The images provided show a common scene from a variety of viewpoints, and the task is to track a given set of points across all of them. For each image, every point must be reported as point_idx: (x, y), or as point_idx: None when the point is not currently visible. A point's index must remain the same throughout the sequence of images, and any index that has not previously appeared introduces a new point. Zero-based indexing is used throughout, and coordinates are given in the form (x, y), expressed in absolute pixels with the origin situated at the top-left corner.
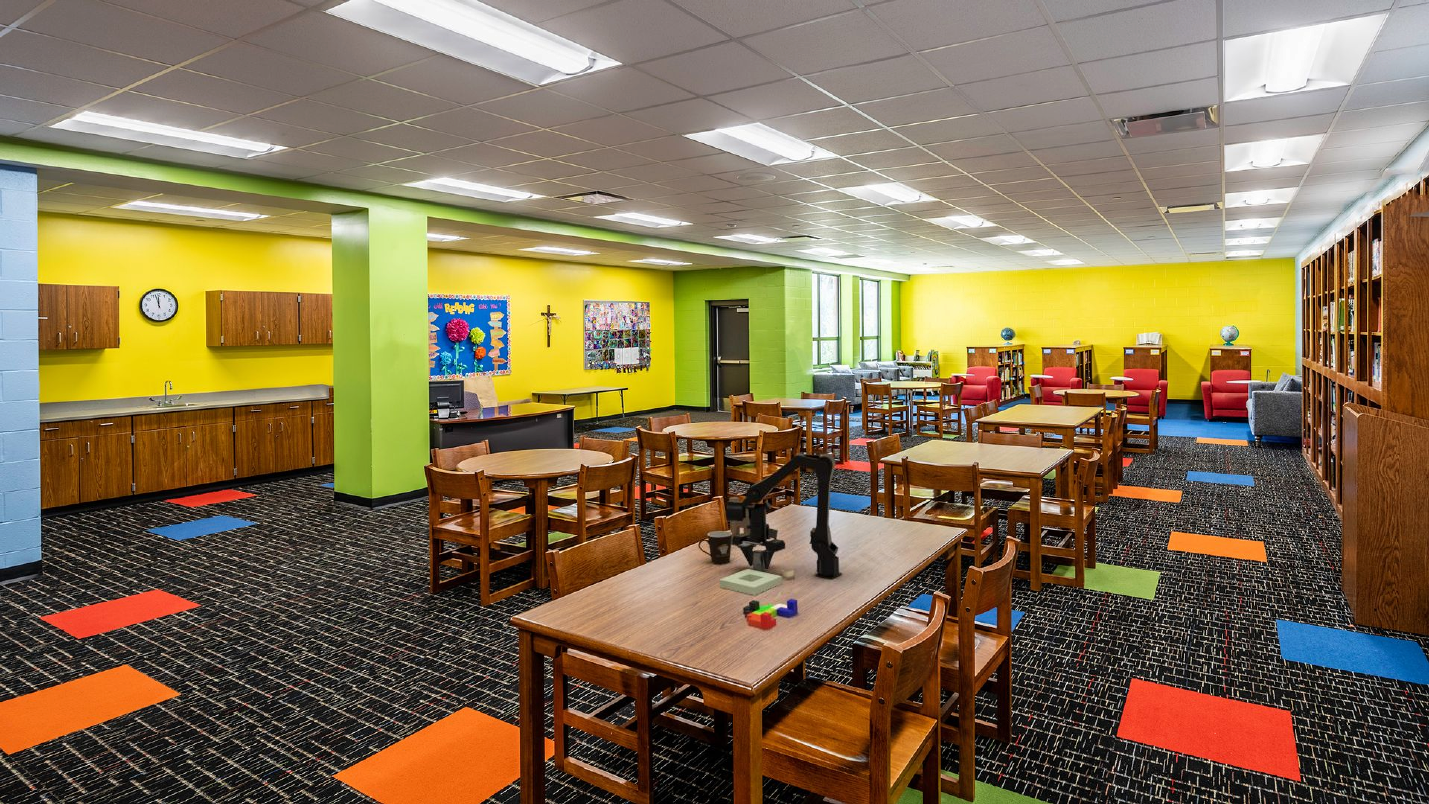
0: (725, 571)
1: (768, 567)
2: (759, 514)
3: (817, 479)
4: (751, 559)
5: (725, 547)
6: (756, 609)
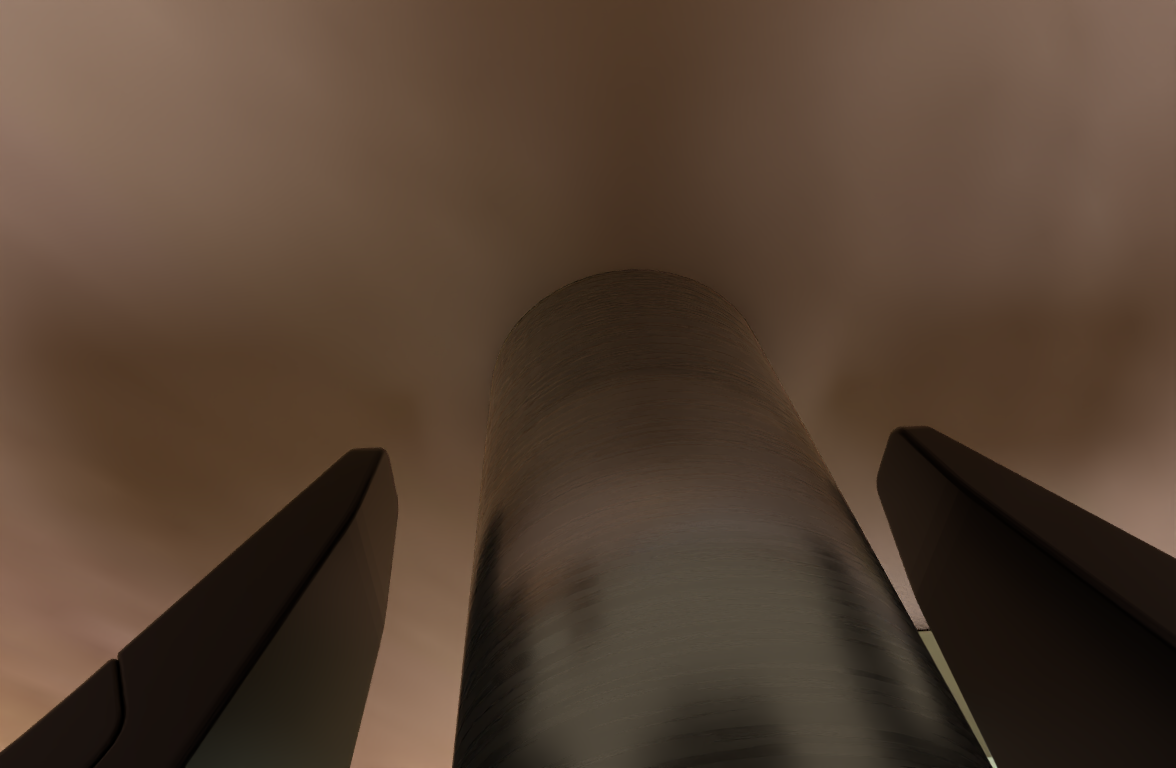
0: (93, 670)
1: (952, 452)
2: None
3: None
4: (341, 620)
5: None
6: None
